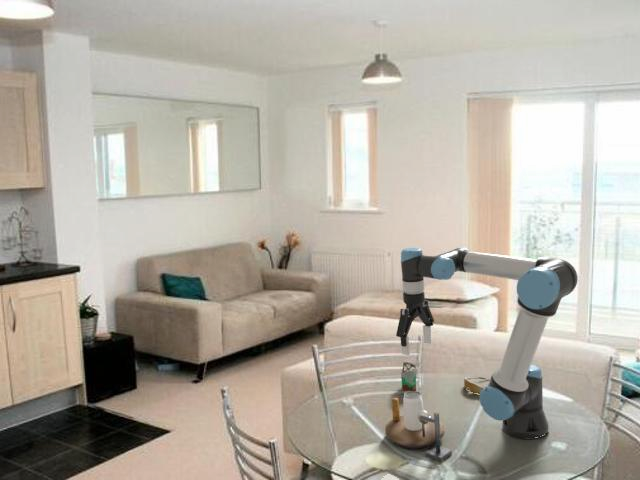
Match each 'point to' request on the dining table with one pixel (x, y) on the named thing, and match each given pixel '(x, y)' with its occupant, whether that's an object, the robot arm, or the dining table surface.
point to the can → (412, 410)
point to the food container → (408, 377)
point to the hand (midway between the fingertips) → (416, 348)
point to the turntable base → (415, 446)
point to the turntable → (405, 437)
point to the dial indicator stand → (437, 450)
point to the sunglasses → (473, 385)
